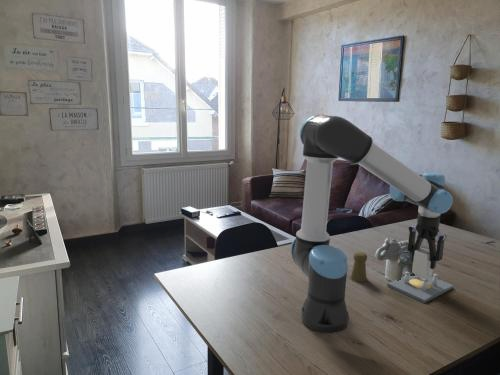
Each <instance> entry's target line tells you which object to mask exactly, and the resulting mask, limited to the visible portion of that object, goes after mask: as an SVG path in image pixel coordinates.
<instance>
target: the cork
mask: <svg viewBox="0 0 500 375" xmlns="http://www.w3.org/2000/svg"><path fill="white" fill-rule="evenodd" d="M353 260H354V262H353V265H352V270H351V275H350V279H351V280H352V281H354V282H357V283H358V282H359V283H362V282H366V281H367V270H366V269H367V267H366V261H367V260H368V255H367V253H366V252H363V251H355V253H353Z"/></svg>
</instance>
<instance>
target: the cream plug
mask: <svg viewBox="0 0 500 375" xmlns="http://www.w3.org/2000/svg"><path fill="white" fill-rule="evenodd" d="M428 260H430V252H429V249H427V248H424V247H422V248H421V247H420V249H418V250H416V251H415V253H414V261H413V262H412V268H413V270H411V273H414V274H416V275H419V276H421V277H424V278H425V277H427V276H426V275H427V267H428Z"/></svg>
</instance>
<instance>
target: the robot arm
mask: <svg viewBox="0 0 500 375" xmlns="http://www.w3.org/2000/svg"><path fill="white" fill-rule="evenodd" d="M299 138H300V141H301V143H302V145H303V147H302V148H303V149H302V157H303V158H304V159H305V160H306V168H305V178H304V180H305V181H304V190H303V191H304V192H303V204H302V212H301V213H302V215H301V223H300V224H301V226H300V229H299V230H297V231H296V233H295V238H294V240H293V241H292V242H291V245H290V255H291V258H292V260H293V262H294V263H295V265H296V266H297V267H298V268H299V269H300V270H301V271H302V273H303V274H304V275H305V276H306V277H307V279H308V281H307V282H308V283H307V295H306V298H305V300H304V303H303V306H302V308H301V312H300V318H301V321H302V323H303V324H304V325H305V326H306V327H307V328H309V329H311V330H314V331H316V332H320V333H323V334H334V333H340V332H341V331H345V329H347V328H348V326H349V322H350V321H349V320H350V315H349V312H348V308H347V304H346V301H345V298H346V289H347V288H346V286H347V276H348V275H347V273H348V271H349V270H348V269H349V266H348V265H349V264H348V256H347V254H346V252H344V251H343V250H342V249H340V248H339V247H334V246H332V245H330V243H331V242H330V241H331V236H330V234H329V232H327V225H328V216H329V206H330V197H331V185H332V179H333V178H332V177H333V168H334V166H333V165H334V163H335V162H336V161H337V160H338V159H339V158H340V159H341V160H342V159H343V160H345V161H347V163H350V164H351V165H359V166H360V167H362V168H363V169H365V170H366V171H368V172H369V173H371V174H373V175H374V176H375V177H377V178H378V179H380V180H381V181H383V182H385V183H386V184H387V185H389V195H390V198H391V199H392V200H393V201H395V202H408V203H410V204H413V205H415V206H418V209H417V210H418V211H417V212H418V214H417V217H416V218H417V219H416V223H417V224H416V225H411V226H409V227H408V232H409V233H408V235H409V236H408V242H407V251H408V252H410V253H411V262H412V263H413V261H414V253H415V251H416V250H418V249H421V246H422V244H423V240H424V239H425V240H426V241H427V244H428V250H429V252H430V260H428V267H427V275H426V276H427V277H430V276H431V277H433V273H434V272H433V271H434V269H435V268H436V264H437V262H439V261H441V260H443V255H444V247H445V246H444V245H445V241H446V239H447V234H442V233H441V232H440V229H439V227H440V222H441V214H445V213H447V212H448V211H449V210H450V208H451V207H452V205H453V202H454V200H453V199H454V198H453V196H452V194H451V193H450V192H449V191H447V190H445V187H446V186H445V185H446V184H445V183H446V181H445V180H446V177H445V175H444V174H442V173H439V172H433V171H431V172H429V171H427V172H423V173H422V174H421V175H420V174H418V173H417V172H415V171H414V170H413V169H411V168H409V167H408V165H407V166H406V164H404V163H403V162H401V161H400V160H398V159H397V158H396V157H394V156H392V155H391V154H389V152H386V151H385V150H384V149H382V148H381V147H379V145H377V144H375V143H374V140H373V138H372V137H371V136H370V135H369V134H367V133H366V132H365V131H363V130H362V129H361V128H359V127H358V126H356V125H355V124H354V123H352V122H351V121H349V120H348V119H346V118H344V117H342V116H338V115H327V114H326V115H325V114H317V115H316V114H315V115H312V116H310V117H309V118H307V119H306V120H305V121H304V122H303V123H302V125H301V127H300V131H299ZM416 234H417V235H416ZM436 237H437V244H436ZM412 270H413V267H412ZM412 270H411V271H412Z"/></svg>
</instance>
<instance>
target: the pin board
mask: <svg viewBox="0 0 500 375" xmlns="http://www.w3.org/2000/svg"><path fill="white" fill-rule="evenodd" d="M410 274H411V272H410V271H405V272H404V276H401V277H402V278H401V277H400V278H401V280H399V281H397V279H394V280H392V281H389V282H388V283H387V284H386V285H387V287H388V288H391V289H392V290H395V291H397V292H399V293H401V294H403V295H406V296H408V297H410V298H412V299H414V300H417V301H419V302H420V303H422V304H425V303H427V302H430V301H431V300H433V299H435V298H437V297H438V296H441V295H443V294H444V293H447V292H448V291H450V290H452V289H453V288H454V284H451V283H449V282H446V281H445V280H441V279H438V278H439V274H437V273H432V276H430V277H425V278H424V277H421V276H419V275H416V274H415V276H410Z"/></svg>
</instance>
